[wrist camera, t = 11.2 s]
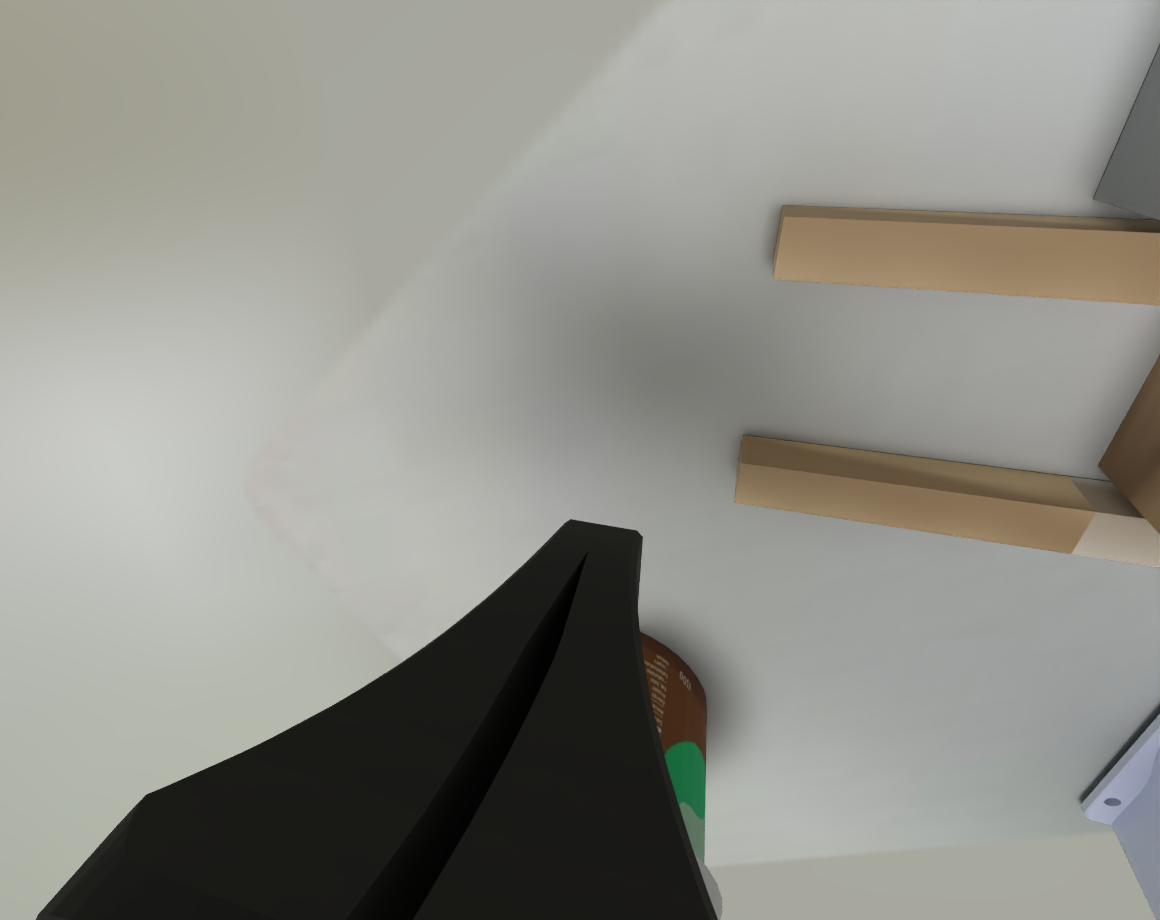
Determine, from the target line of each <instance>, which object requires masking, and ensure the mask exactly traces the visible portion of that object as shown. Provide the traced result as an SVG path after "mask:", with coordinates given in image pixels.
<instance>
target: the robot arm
mask: <svg viewBox="0 0 1160 920" xmlns="http://www.w3.org/2000/svg"><path fill="white" fill-rule="evenodd" d="M642 541H643V537H642V536H641V535H640V533H639V532H638V531H636V530H630V529H624V528H618V527H612V526H606V525H601V524H595V523H589V522H583V521H577V520H571V519H570V520H569V521H567V522H566V523H564V525H563V526H562V527H561V528H560V529H559V530H558V531H557V532H556V533H555V534H554V535H553V536H552V537H551V538H550V539H549V540H548V541H547V542H546V543H545V544H544V545H543V546H542V547H541V548H540V549H539V550H538V551H537V552H536V553H535V554H534V555H533V556H532V557H531V558H530V559H529V560H528V561H527V562H526V563H525V564H524V565H523V566H522V567H520V568H519V569H518V570H517V571H516V572H515V573H514V574H513V575H512V576H511V577H510V578H508V579H507V580H506V581H505V582H504V583H503V584H502V585H501V586H500V587H499V588H497V589H496V590H495V591H494V592H493V593H492V594H491V595H490V596H488V597H487V598H486V599H485V600H484V601H482V602H481V603H480V604H479V605H478V606H476V607H475V608H474V609H473V610H471V611H470V612H469V613H468V614H467V615H465V616H464V617H463V618H462V619H460V620H459V621H458V622H457V623H456V624H454V625H453V626H452V627H450V628H449V629H448V630H447V631H445V632H444V633H443V634H441V635H440V636H439V637H437V638H436V639H435V640H433V641H432V642H430V643H429V644H428V645H426V646H425V647H424V648H422V649H421V650H419V651H418V652H416V653H415V654H414V655H412V656H411V657H409V658H408V659H406V660H405V661H403V662H402V663H400V664H399V665H398V666H396V667H394V668H393V669H391V670H390V671H388V672H387V673H385V674H383V675H382V676H380V677H379V678H377V679H376V680H374V681H372V682H371V683H369V684H368V685H366V686H364V687H363V688H361V689H360V690H358V691H356V692H355V693H353V694H351V695H350V696H348V697H346V698H345V699H343V700H341V701H339V702H338V703H336V704H334V705H332V706H331V707H329V708H327V709H325V710H323V711H321V712H320V713H318V714H316V715H314V716H312V717H310V718H308V719H307V720H304V721H303V722H301V723H299V724H297V725H295V726H293V727H291V728H289V729H288V730H286V731H284V732H282V733H280V734H278V735H276V736H274V737H273V738H271V739H269V740H267V741H265V742H263V743H261V744H259V745H257V746H254V747H252V748H250V749H248V750H246V751H244V752H242V753H240V754H238V755H236V756H233V757H231V758H229V759H227V760H224V761H222V762H220V763H218V764H216V765H213V766H211V767H209V768H207V769H204V770H202V771H200V772H198V773H195V774H193V775H191V776H189V777H186V778H184V779H182V780H180V781H177V782H175V783H173V784H171V785H169V786H166V787H164V788H161V789H159V790H156V791H154V792H152V793H149V794H147V795H146V796H145V797H144V798H143V799H142V800H141V801H140V802H139V803H138V804H137V805H136V806H135V807H134V808H133V809H132V810H131V811H130V812H129V813H128V814H127V816H126V817H125V818H124V819H123V820H122V821H121V822H120V823H119V824H118V825H117V826H116V828H115V829H114V830H113V831H112V832H111V833H110V834H109V835H108V836H107V838H106V839H105V840H104V841H103V842H102V843H101V844H100V845H99V847H98V848H97V849H96V850H95V851H94V852H93V853H92V854H91V856H90V857H89V858H88V859H87V860H86V861H85V862H84V864H83V865H82V866H81V867H80V868H79V869H78V870H77V871H76V873H75V874H74V875H73V876H72V877H71V878H70V879H69V880H68V882H67V883H66V884H65V885H64V886H63V887H62V888H61V890H60V891H59V892H58V893H57V894H56V895H55V896H54V898H53V899H52V900H51V901H50V902H49V903H48V904H47V905H46V907H45V908H44V909H43V910H42V911H41V912H40V913H39V914H38V916H37V918H36V920H718V918H717V915H716V913H715V910H714V907H713V905H712V902H711V899H710V897H709V894H708V891H707V888H706V885H705V883H704V880H703V877H702V874H701V871H700V868H699V865H698V862H697V860H696V857H695V854H694V851H693V848H692V845H691V842H690V839H689V836H688V833H687V829H686V826H685V823H684V820H683V816H682V813H681V810H680V807H679V803H678V800H677V797H676V793H675V790H674V787H673V784H672V780H671V777H670V774H669V770H668V767H667V763H666V759H665V755H664V752H663V748H662V744H661V740H660V736H659V732H658V728H657V724H656V719H655V715H654V711H653V706H652V702H651V697H650V692H649V687H648V681H647V676H646V670H645V664H644V658H643V652H642V645H641V637H640V629H639V617H638V596H639V582H640V568H641V555H642ZM1081 808H1082V810H1083V812H1084V814H1085V816H1086V817H1087V818H1088V819H1090V820H1093V821H1096V822H1100V823H1104V824H1108V825H1112V827H1113V829H1114V831H1115V833H1116V835H1117V837H1118V839H1119V842H1120V844H1121V846H1122V848H1123V850H1124V852H1125V854H1126V857H1127V859H1128V861H1129V863H1130V865H1131V867H1132V869H1133V871H1134V874H1135V876H1136V878H1137V880H1138V882H1139V884H1140V886H1141V888H1142V890H1143V893H1144V895H1145V897H1146V899H1147V901H1148V903H1149V905H1150V908H1151V910H1152V912H1153V914H1154V916H1155V918H1156V920H1160V714H1159V715H1158V716H1157V718H1156V719H1155V720H1154V721H1153V722H1152V723H1151V724H1150V726H1149V727H1148V728H1147V729H1146V730H1145V731H1144V733H1143V734H1142V735H1141V736H1140V737H1139V738H1138V739H1137V741H1136V742H1135V743H1134V744H1133V745H1132V746H1131V747H1130V749H1129V750H1128V751H1127V752H1126V753H1125V754H1124V756H1123V757H1122V758H1121V759H1120V760H1119V761H1118V762H1117V764H1116V765H1115V766H1114V767H1113V768H1112V769H1111V770H1110V772H1109V773H1108V774H1107V775H1106V776H1105V777H1104V778H1103V780H1102V781H1101V782H1100V783H1099V784H1098V785H1097V787H1096V788H1095V789H1094V790H1093V791H1092V792H1091V793H1090V795H1089V796H1088V797H1087V798H1086V799H1085V800H1084V801H1083V803H1082V804H1081Z"/></svg>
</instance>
